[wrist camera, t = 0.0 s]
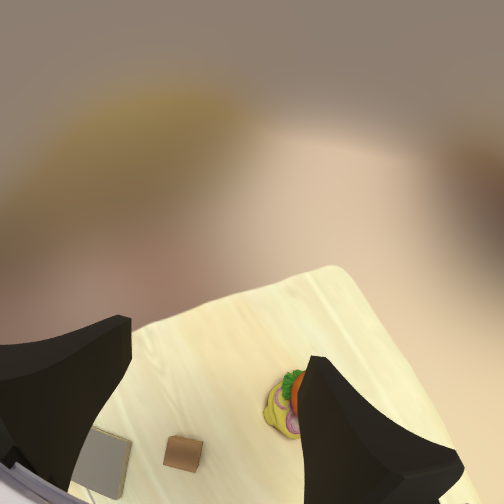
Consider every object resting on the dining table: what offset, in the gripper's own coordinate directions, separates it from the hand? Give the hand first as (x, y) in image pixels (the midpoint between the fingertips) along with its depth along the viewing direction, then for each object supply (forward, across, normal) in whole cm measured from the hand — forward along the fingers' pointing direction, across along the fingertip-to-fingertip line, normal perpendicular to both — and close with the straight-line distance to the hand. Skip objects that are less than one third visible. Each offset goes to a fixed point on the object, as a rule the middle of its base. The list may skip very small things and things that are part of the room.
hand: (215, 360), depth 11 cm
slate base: (+11, +16, +34) cm, 39 cm away
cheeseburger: (+23, -12, +23) cm, 35 cm away
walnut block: (+15, +3, +30) cm, 33 cm away
